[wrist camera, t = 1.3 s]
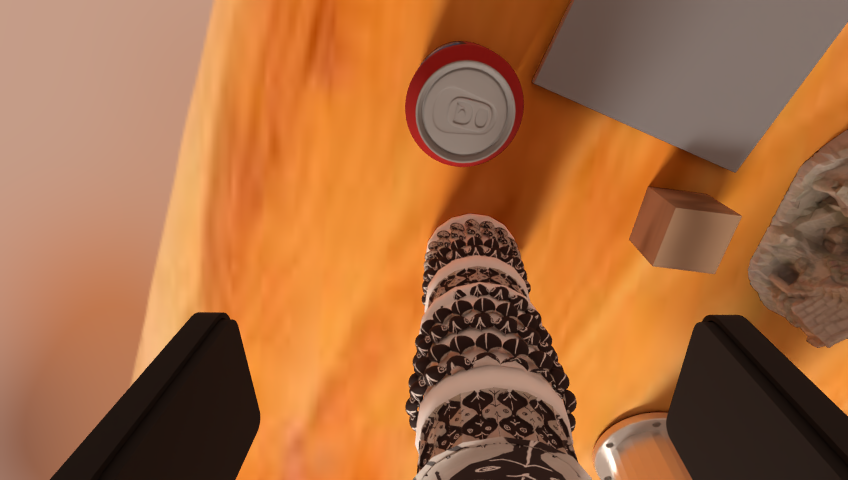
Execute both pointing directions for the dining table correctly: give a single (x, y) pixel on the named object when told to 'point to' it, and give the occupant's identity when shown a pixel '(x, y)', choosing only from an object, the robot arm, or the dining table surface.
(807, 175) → the ceramic cottage
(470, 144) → the beverage can
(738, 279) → the dining table surface
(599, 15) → the slate board
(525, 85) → the dining table surface
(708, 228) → the walnut block
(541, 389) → the decorative candle
